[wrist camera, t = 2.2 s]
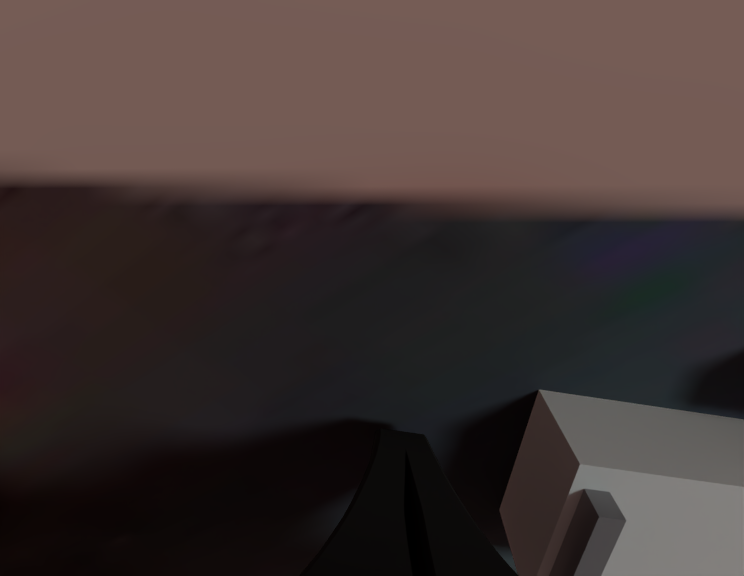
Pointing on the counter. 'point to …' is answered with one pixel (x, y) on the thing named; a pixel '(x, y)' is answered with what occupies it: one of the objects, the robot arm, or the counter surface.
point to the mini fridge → (625, 491)
